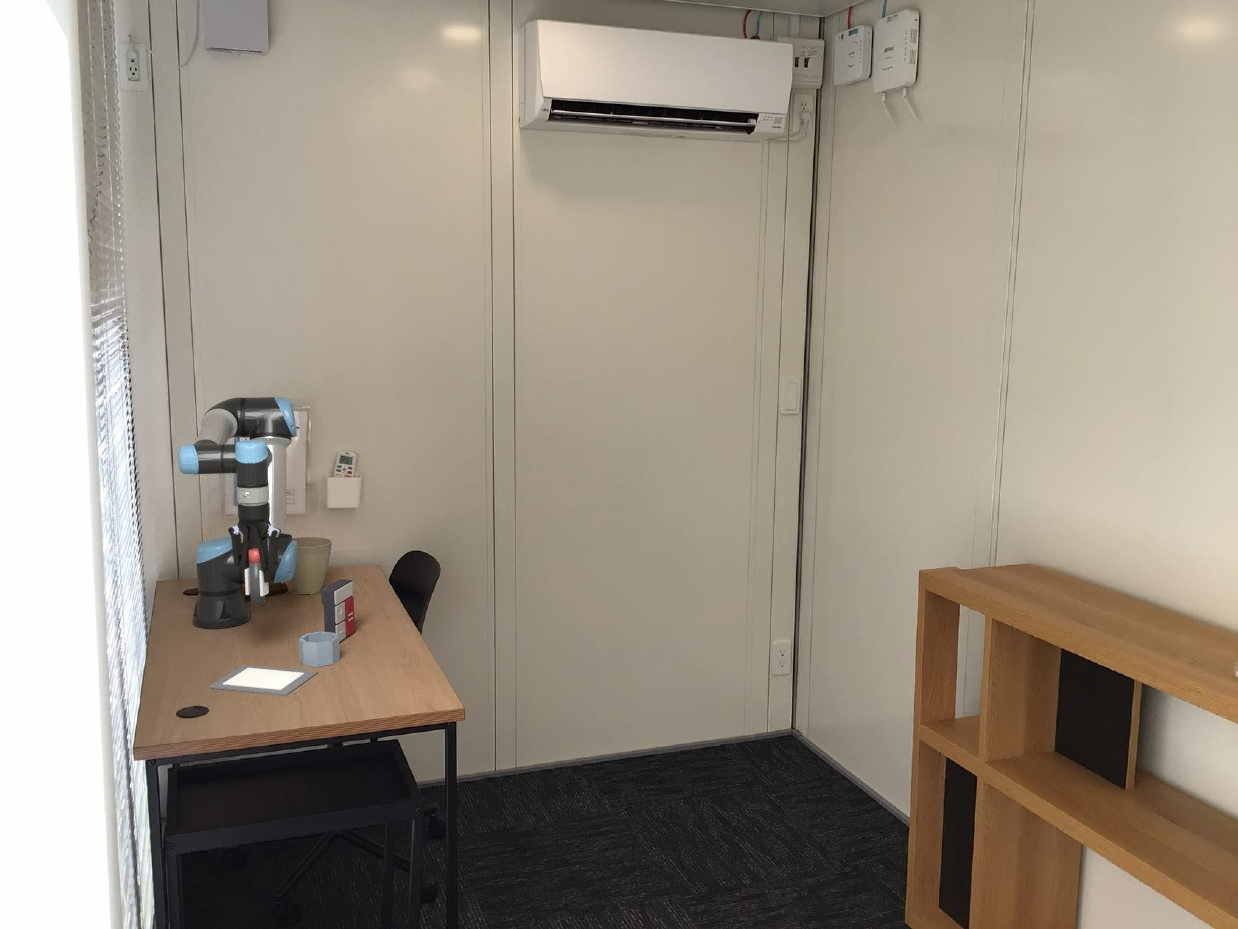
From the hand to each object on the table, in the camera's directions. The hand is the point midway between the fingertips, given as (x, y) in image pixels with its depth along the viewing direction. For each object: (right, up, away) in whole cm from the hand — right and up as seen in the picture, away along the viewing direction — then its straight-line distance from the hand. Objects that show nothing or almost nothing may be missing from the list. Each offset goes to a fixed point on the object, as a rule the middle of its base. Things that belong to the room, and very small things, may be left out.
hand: (257, 593), depth 261 cm
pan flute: (-29, -8, +60) cm, 67 cm away
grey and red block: (+16, -14, +18) cm, 28 cm away
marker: (0, -3, +1) cm, 3 cm away
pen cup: (+16, -17, +1) cm, 23 cm away
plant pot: (-5, -7, +61) cm, 62 cm away
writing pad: (+6, -19, -14) cm, 24 cm away
